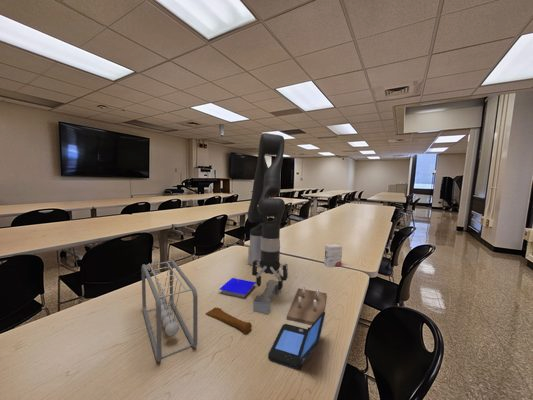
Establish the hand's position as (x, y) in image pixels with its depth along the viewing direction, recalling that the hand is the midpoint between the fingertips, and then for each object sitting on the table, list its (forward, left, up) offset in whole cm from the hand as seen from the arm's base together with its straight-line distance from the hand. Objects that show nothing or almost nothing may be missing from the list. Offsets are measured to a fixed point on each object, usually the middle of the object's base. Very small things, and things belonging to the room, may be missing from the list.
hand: (269, 287), depth 92 cm
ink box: (+23, +50, -6) cm, 55 cm away
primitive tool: (-9, -18, -6) cm, 21 cm away
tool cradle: (+16, +1, -5) cm, 17 cm away
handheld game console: (+16, -22, -6) cm, 28 cm away
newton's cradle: (-26, -28, -6) cm, 38 cm away
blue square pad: (-15, +3, -6) cm, 17 cm away
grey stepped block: (0, 0, -5) cm, 5 cm away
